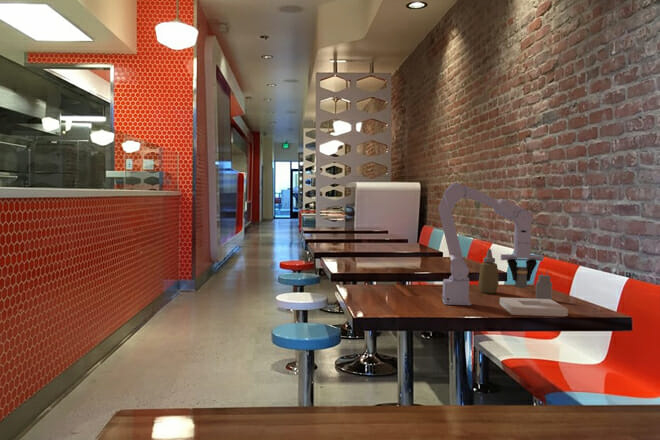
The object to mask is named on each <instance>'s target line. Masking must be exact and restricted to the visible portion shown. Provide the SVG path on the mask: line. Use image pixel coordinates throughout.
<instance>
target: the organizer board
mask: <svg viewBox="0 0 660 440" xmlns="http://www.w3.org/2000/svg"><path fill="white" fill-rule="evenodd" d="M499 305H500V306H501V307H502V308H503V309H505V310H506V311H507V312H508V313H510V315H515V316H535V317H536V316H537V317H539V316H542V317H565V316H568V315H569V309H568V308H567V307H565V306H563V305H562V304H560V303H558V302H556V301H555V300H551V299H536V298H530V297H529V298H528V297H527V298H526V297H499Z"/></svg>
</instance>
